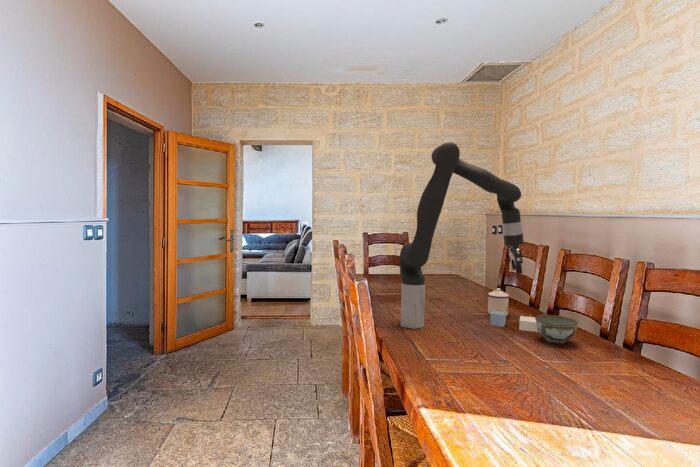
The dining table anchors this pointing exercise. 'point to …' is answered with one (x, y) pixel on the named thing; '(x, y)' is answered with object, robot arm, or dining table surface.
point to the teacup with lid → (498, 301)
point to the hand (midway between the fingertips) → (517, 271)
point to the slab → (528, 324)
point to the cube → (498, 318)
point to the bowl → (556, 328)
